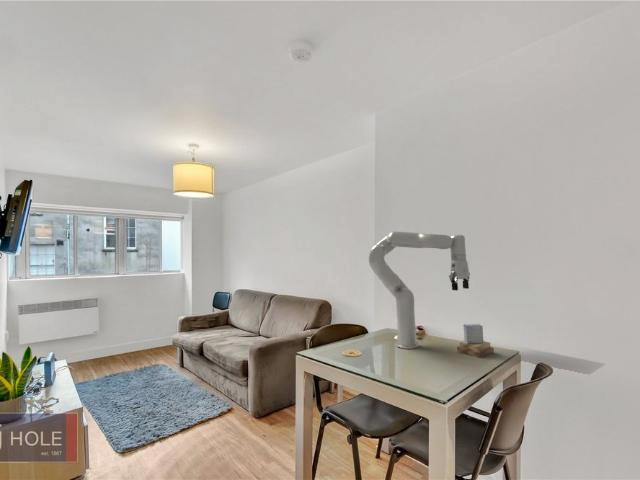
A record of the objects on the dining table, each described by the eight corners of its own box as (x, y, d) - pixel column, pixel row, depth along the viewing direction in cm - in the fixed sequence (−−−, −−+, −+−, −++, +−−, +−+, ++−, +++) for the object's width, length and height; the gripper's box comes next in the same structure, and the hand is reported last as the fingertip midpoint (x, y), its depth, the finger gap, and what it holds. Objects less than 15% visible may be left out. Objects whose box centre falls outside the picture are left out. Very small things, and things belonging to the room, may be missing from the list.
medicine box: (480, 340, 163) (479, 323, 163) (483, 343, 158) (482, 325, 159) (464, 341, 164) (463, 324, 164) (467, 343, 159) (466, 326, 160)
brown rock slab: (457, 352, 163) (456, 342, 163) (471, 347, 169) (470, 337, 169) (480, 357, 152) (479, 347, 153) (493, 352, 159) (493, 342, 159)
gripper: (454, 258, 167) (457, 291, 166) (474, 257, 176) (476, 288, 175) (442, 258, 173) (444, 290, 172) (461, 257, 182) (463, 287, 182)
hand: (460, 289), depth 174 cm, fingers open, 9 cm apart
